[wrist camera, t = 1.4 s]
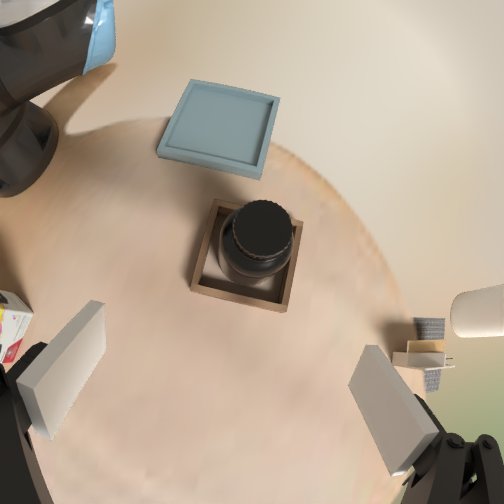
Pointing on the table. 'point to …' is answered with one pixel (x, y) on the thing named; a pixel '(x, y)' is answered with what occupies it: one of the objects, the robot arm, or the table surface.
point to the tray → (221, 128)
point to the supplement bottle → (255, 242)
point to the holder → (281, 307)
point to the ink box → (12, 324)
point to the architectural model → (425, 351)
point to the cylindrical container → (479, 312)
